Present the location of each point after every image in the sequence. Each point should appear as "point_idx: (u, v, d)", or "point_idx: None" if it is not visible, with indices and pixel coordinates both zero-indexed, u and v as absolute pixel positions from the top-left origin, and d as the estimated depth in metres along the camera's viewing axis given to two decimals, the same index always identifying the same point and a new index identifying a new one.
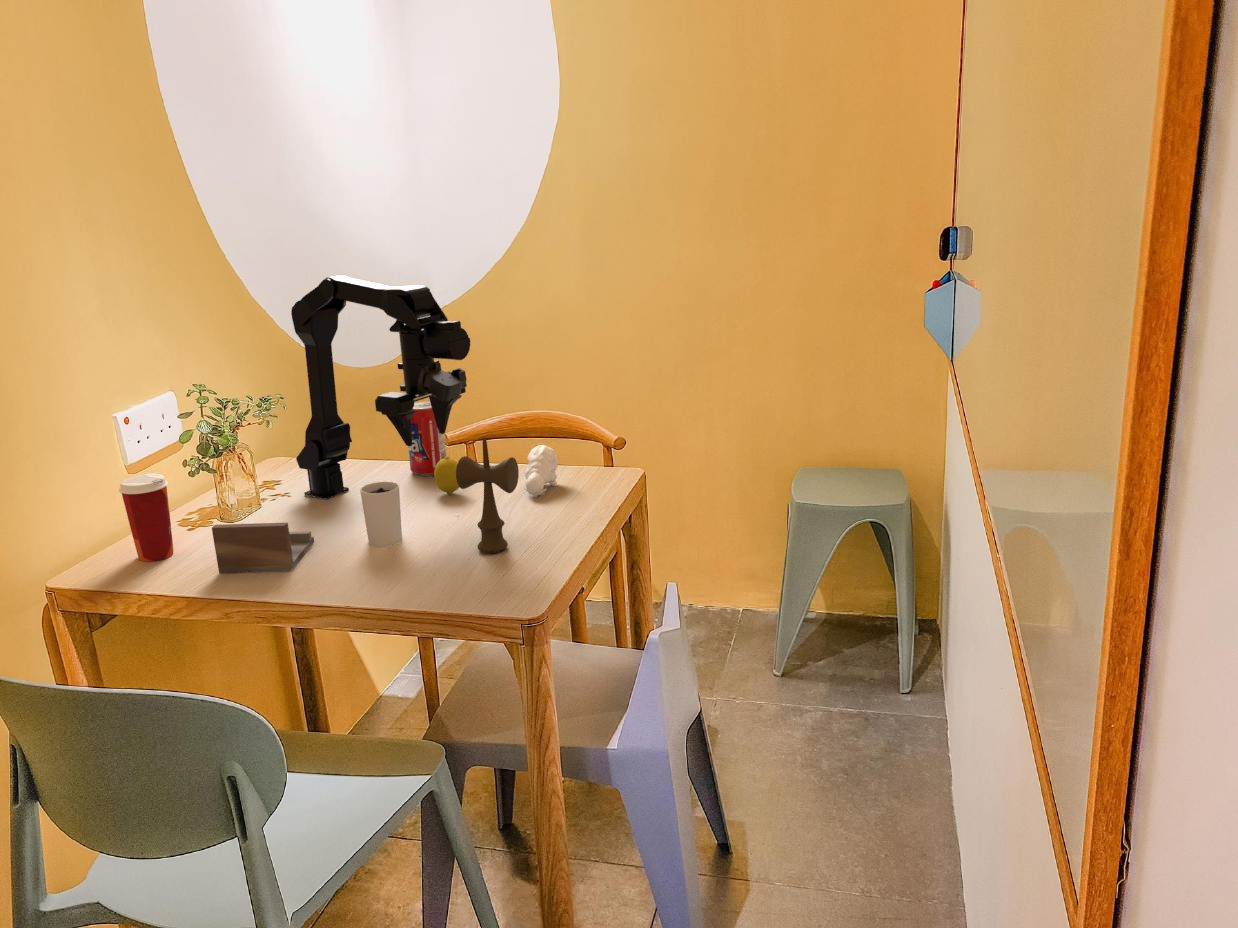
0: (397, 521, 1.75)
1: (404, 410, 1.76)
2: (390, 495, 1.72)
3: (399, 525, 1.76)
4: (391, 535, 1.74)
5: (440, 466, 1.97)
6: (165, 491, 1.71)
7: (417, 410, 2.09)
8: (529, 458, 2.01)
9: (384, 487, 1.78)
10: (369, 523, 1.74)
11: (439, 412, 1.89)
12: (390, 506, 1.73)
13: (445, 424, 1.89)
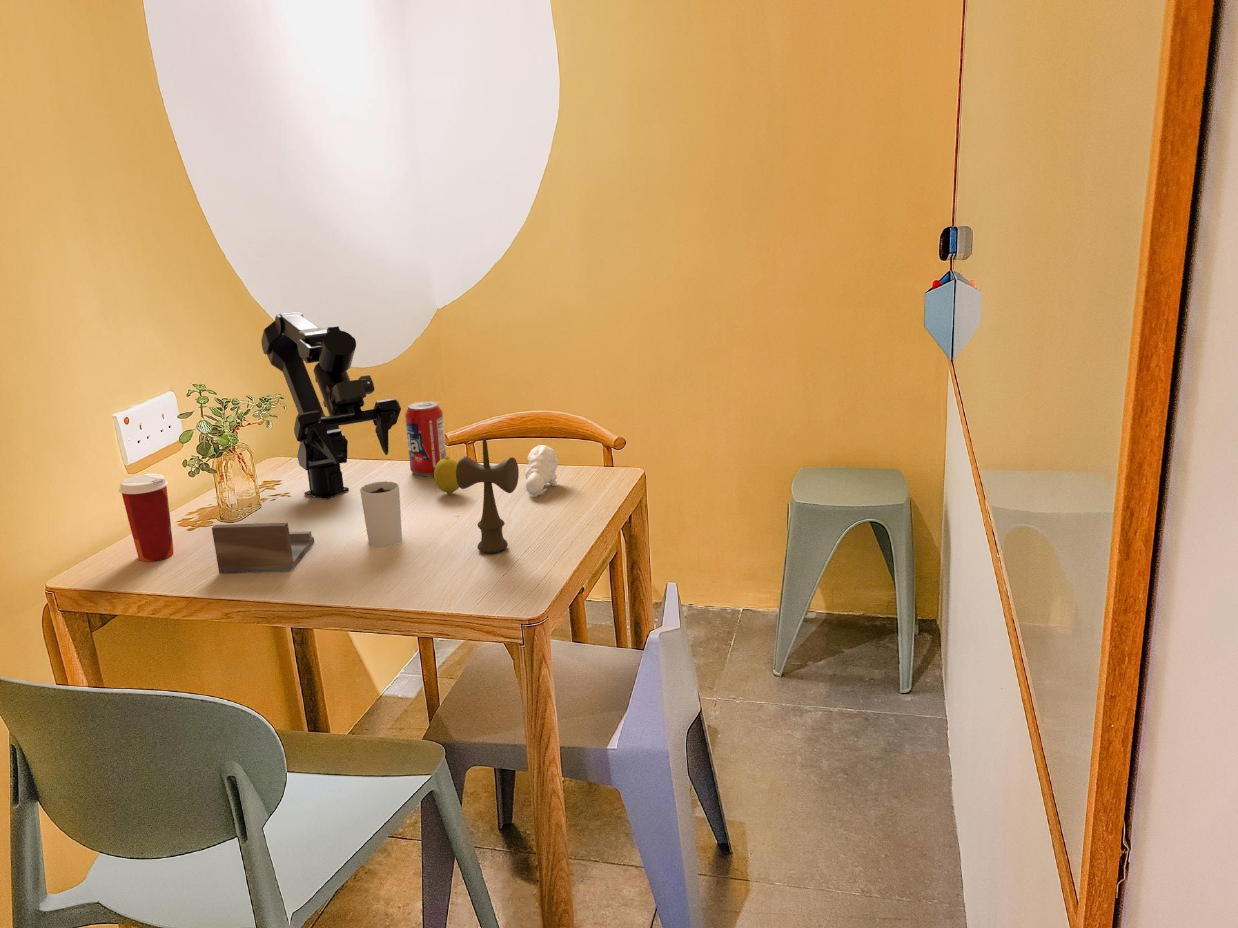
0: (397, 521, 1.75)
1: (307, 421, 1.76)
2: (390, 495, 1.72)
3: (399, 525, 1.76)
4: (391, 535, 1.74)
5: (440, 466, 1.97)
6: (165, 491, 1.71)
7: (417, 410, 2.09)
8: (529, 458, 2.01)
9: (384, 487, 1.78)
10: (369, 523, 1.74)
11: (380, 435, 1.84)
12: (390, 506, 1.73)
13: (385, 442, 1.82)
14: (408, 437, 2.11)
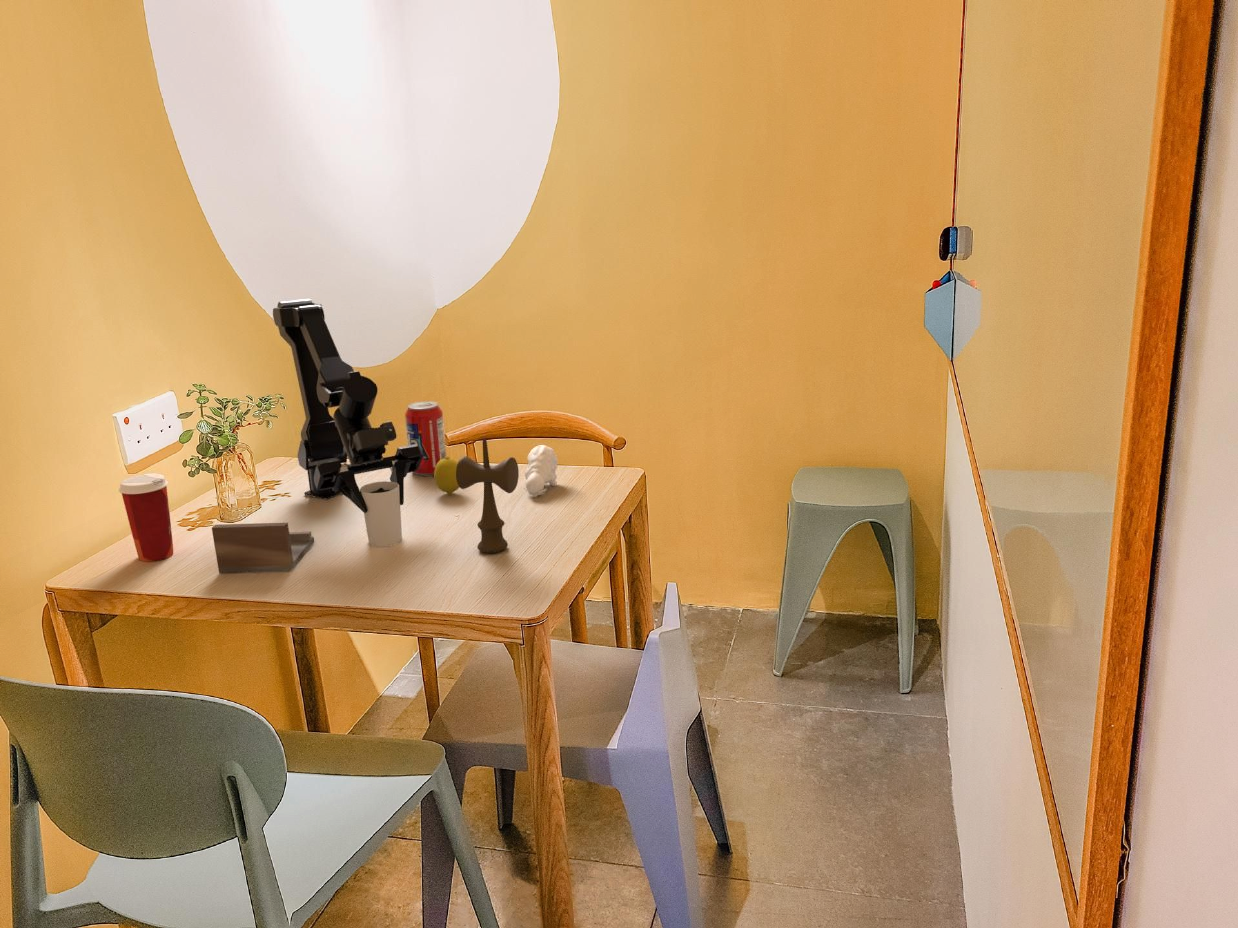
0: (397, 521, 1.75)
1: (327, 470, 1.71)
2: (390, 495, 1.72)
3: (399, 525, 1.76)
4: (391, 535, 1.74)
5: (440, 466, 1.97)
6: (165, 491, 1.71)
7: (417, 410, 2.09)
8: (529, 458, 2.01)
9: (384, 487, 1.78)
10: (369, 523, 1.74)
11: None
12: (390, 506, 1.73)
13: (400, 492, 1.76)
14: (408, 437, 2.11)
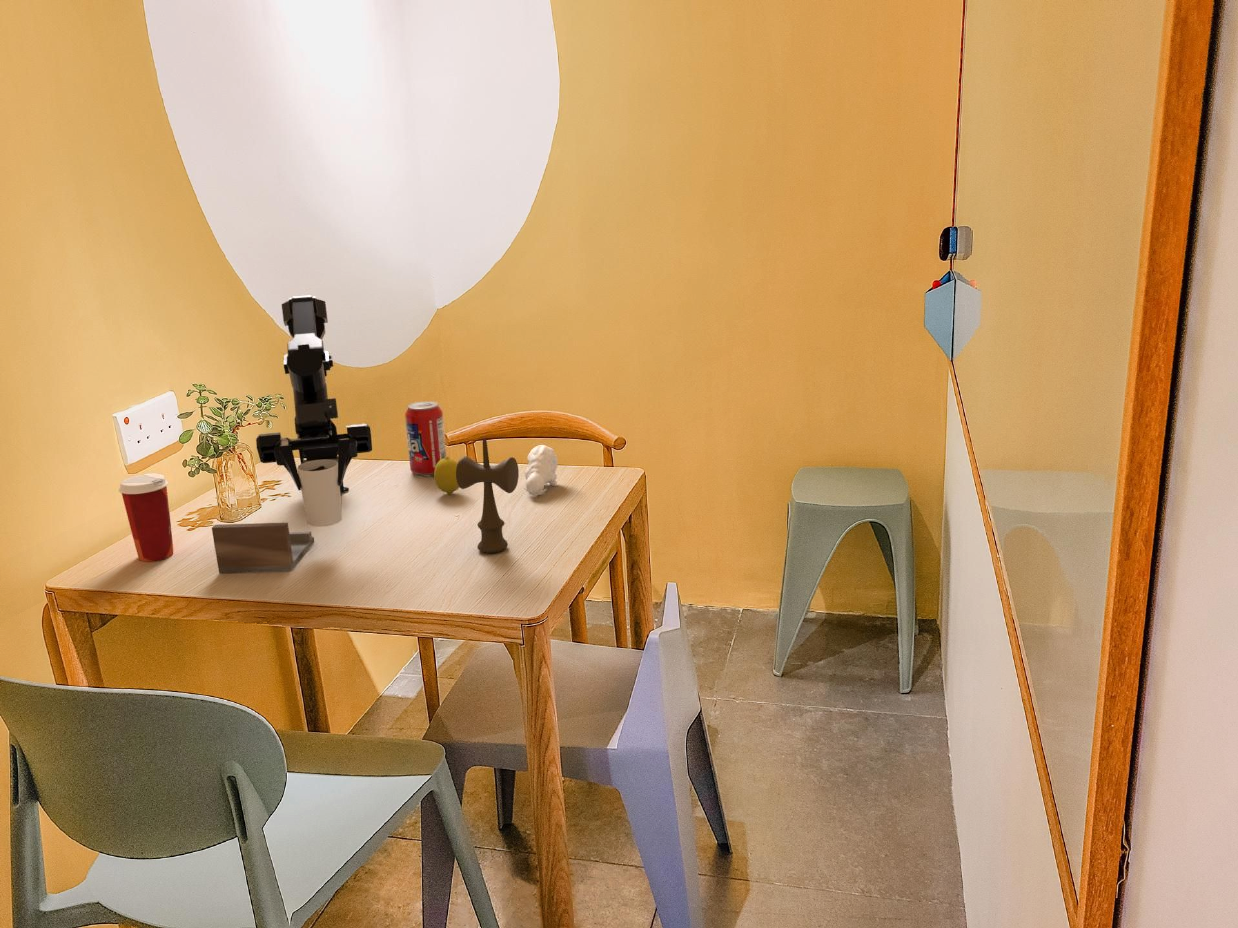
0: (332, 502, 1.69)
1: (264, 443, 1.67)
2: (322, 474, 1.66)
3: (336, 506, 1.69)
4: (325, 516, 1.68)
5: (440, 466, 1.97)
6: (165, 491, 1.71)
7: (417, 410, 2.09)
8: (529, 458, 2.01)
9: (328, 465, 1.72)
10: (304, 501, 1.69)
11: None
12: (322, 485, 1.67)
13: (339, 472, 1.69)
14: (408, 437, 2.11)
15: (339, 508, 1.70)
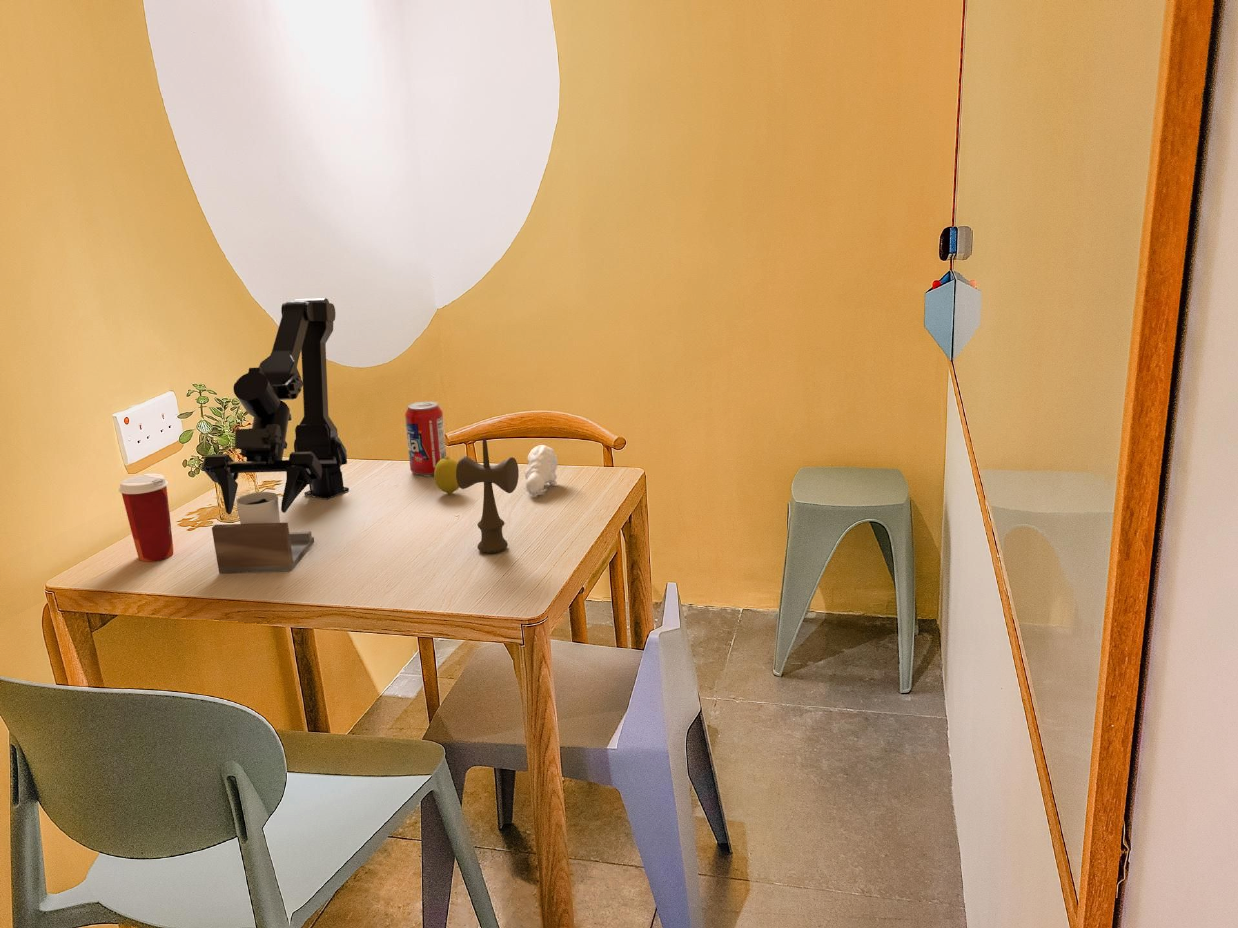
0: None
1: (208, 464, 1.68)
2: (255, 508, 1.65)
3: None
4: None
5: (440, 466, 1.97)
6: (165, 491, 1.71)
7: (417, 410, 2.09)
8: (529, 458, 2.01)
9: (272, 498, 1.70)
10: None
11: None
12: (255, 519, 1.65)
13: (283, 499, 1.67)
14: (408, 437, 2.11)
15: None
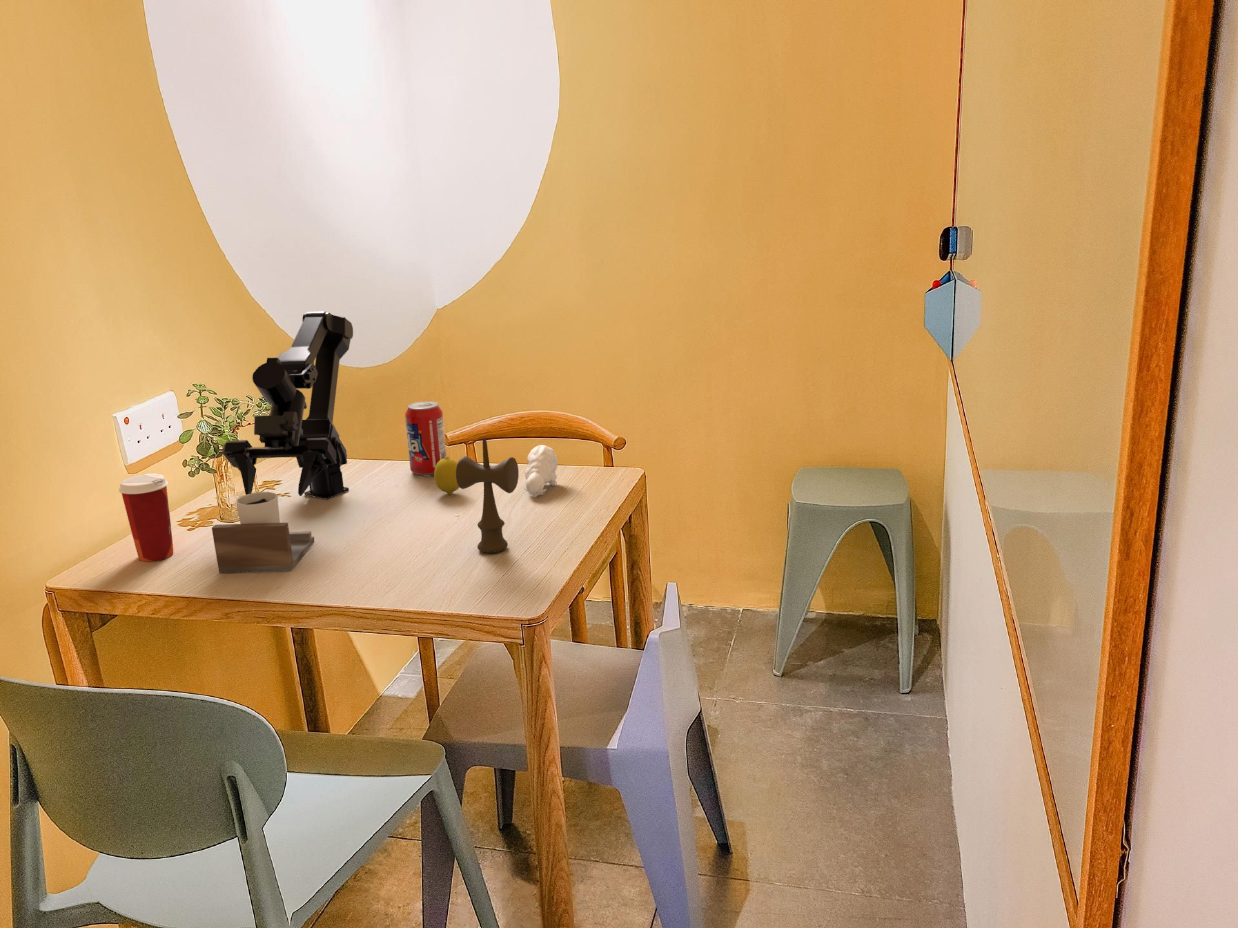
0: None
1: (228, 449, 1.76)
2: (255, 508, 1.65)
3: None
4: None
5: (440, 466, 1.97)
6: (165, 491, 1.71)
7: (417, 410, 2.09)
8: (529, 458, 2.01)
9: (272, 498, 1.70)
10: None
11: None
12: (255, 519, 1.65)
13: (300, 483, 1.75)
14: (408, 437, 2.11)
15: None
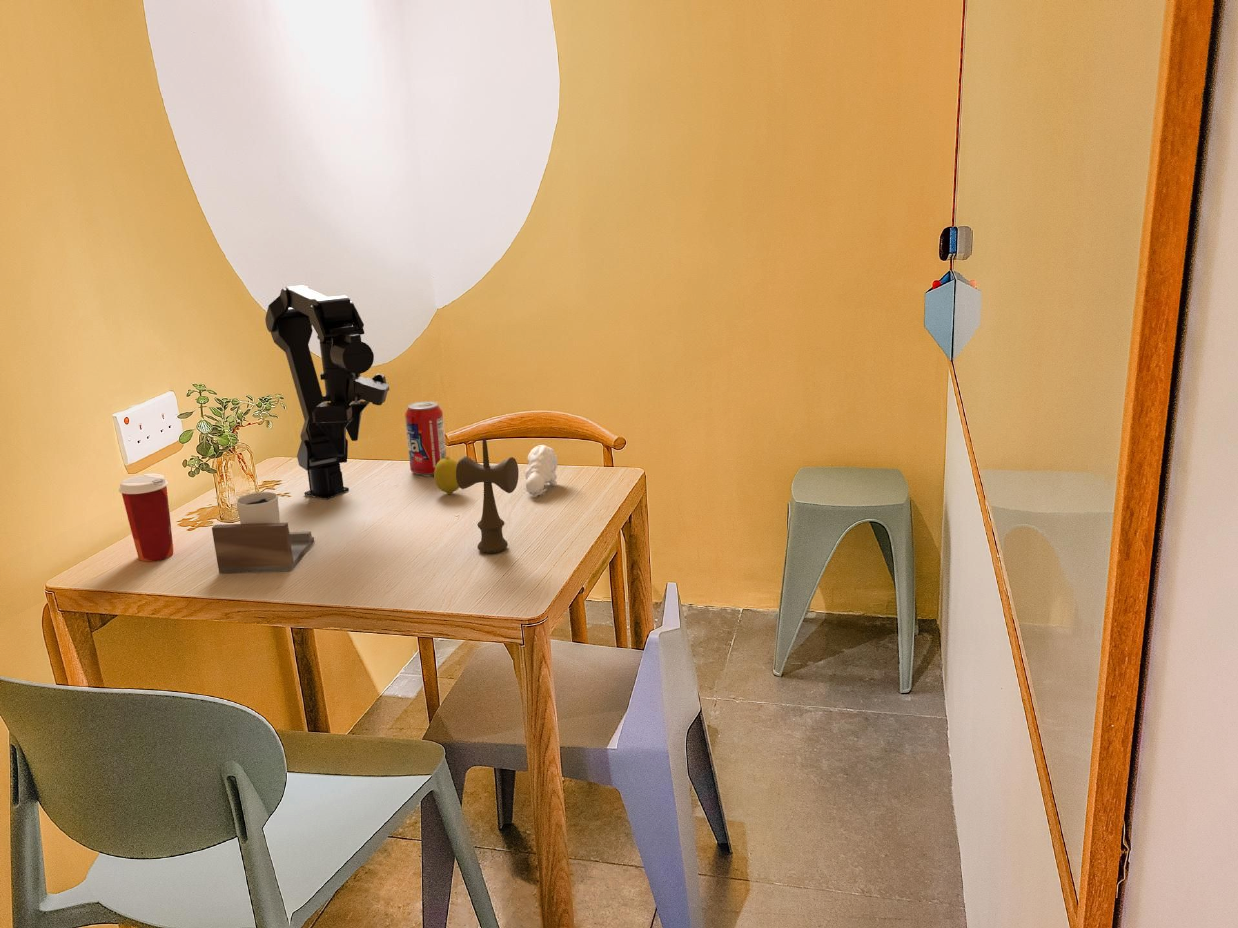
0: None
1: (348, 417, 1.79)
2: (255, 508, 1.65)
3: None
4: None
5: (440, 466, 1.97)
6: (165, 491, 1.71)
7: (417, 410, 2.09)
8: (529, 458, 2.01)
9: (272, 498, 1.70)
10: None
11: (351, 420, 1.92)
12: (255, 519, 1.65)
13: (358, 431, 1.93)
14: (408, 437, 2.11)
15: None
